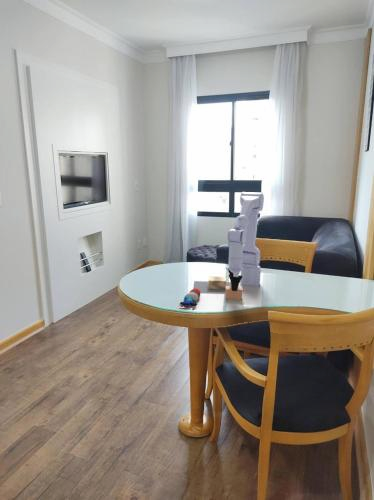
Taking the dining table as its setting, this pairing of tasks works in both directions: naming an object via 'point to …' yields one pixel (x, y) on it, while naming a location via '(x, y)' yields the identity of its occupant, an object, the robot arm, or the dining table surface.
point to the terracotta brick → (233, 293)
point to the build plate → (204, 287)
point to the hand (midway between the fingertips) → (234, 287)
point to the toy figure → (191, 298)
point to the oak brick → (217, 282)
